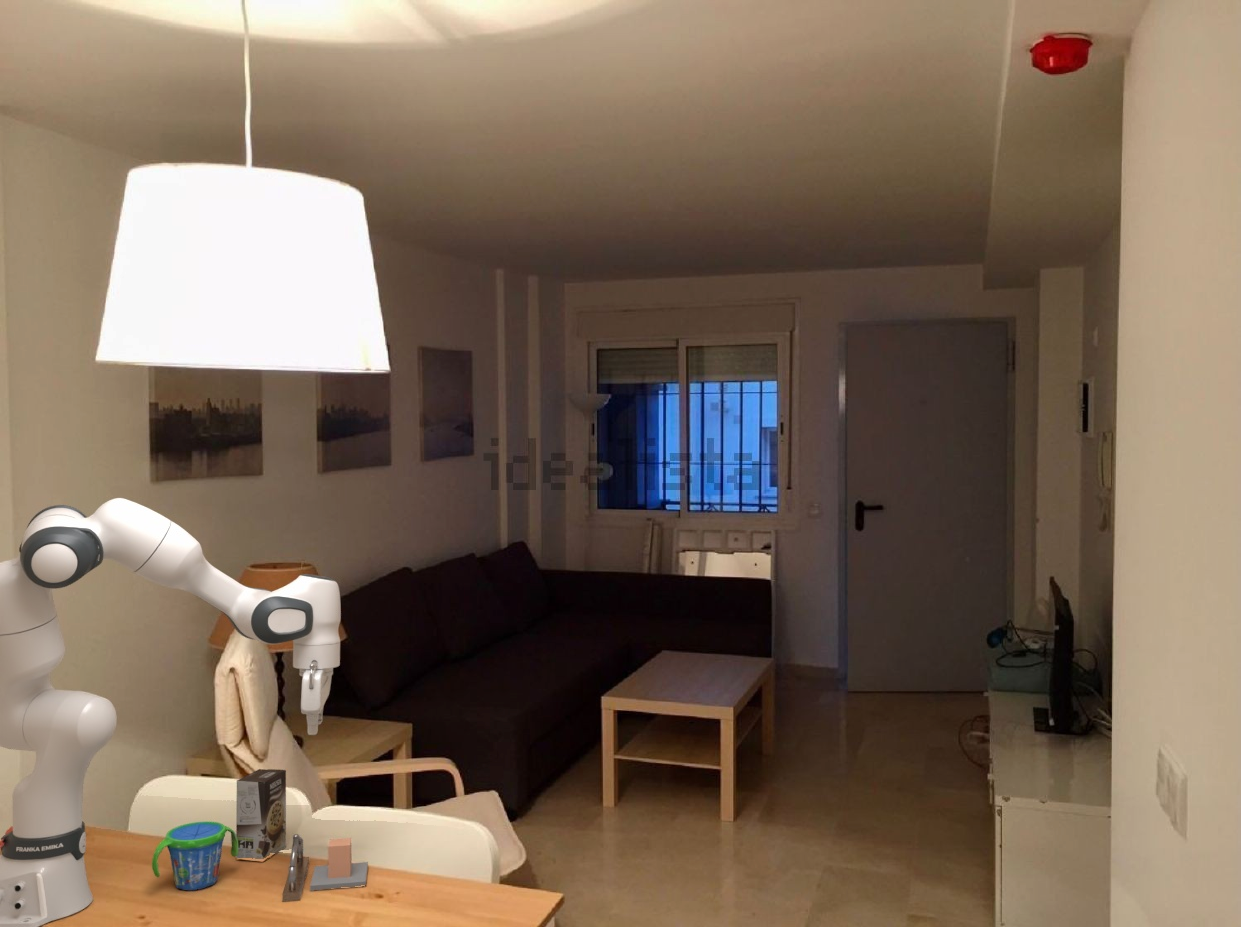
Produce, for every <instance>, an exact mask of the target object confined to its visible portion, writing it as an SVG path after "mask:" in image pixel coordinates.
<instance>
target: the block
mask: <svg viewBox="0 0 1241 927" xmlns="http://www.w3.org/2000/svg"><path fill="white" fill-rule="evenodd" d="M327 850H328V853H327V854H328V857H327V858H328V859H327V861H328V863H327V865H328V878H341V877H350V875H351V869H352V865H351V863H352V837H348V838H347V837H346V838H333V839H329V843H328V847H327Z"/></svg>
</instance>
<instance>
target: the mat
mask: <svg viewBox="0 0 1241 927" xmlns="http://www.w3.org/2000/svg"><path fill="white" fill-rule="evenodd" d="M351 865H352V869H351V875H350V877H341V878H328V864H327V865H326V864H325V865H323V864H322V865H315V866H314V870H313V873H312V876H311V882H310V885H309V887H310V888H309V889H310V890H309V891H310V892H315V891H314V890H319V891H321V890H320V889H331V888H341V887H355V886H361V885H367V879H366V877H367V878H368V870H367V868H369V863H368V861H366V862H365V861H363V862H353V863H352V862H351Z"/></svg>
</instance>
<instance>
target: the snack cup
mask: <svg viewBox="0 0 1241 927" xmlns="http://www.w3.org/2000/svg"><path fill="white" fill-rule="evenodd" d="M227 832H229V833H230V839H231V850H230V854H231V857H234V858H236V856H237V854H238V839H237V836H236V833H235V832H236V831H234V830H233V829H232V828H230V827H229V826H226V825H224V824H223V823H220V822H217V821H195V822H194V821H193V822H189V823H185V824H182V825H178V826H175V827H174V828H172V829H170V830H169V831H168V832H166V835H165V837H164V839H162V840H161V841H160V842H159V843H158V845H157V847H156V848H155V850H154V853H153V855H152V862H151V868H152V871H153V874H154V876H155V877H156V878H160V871H159V870H160V869H159V864H158V859H159V855H160V854H161V853H162V852H163V850H164V849H165V848H166V847H167V850H168V853H169V857H170V861H171V869H172V873H173V875H172V876H173V880H174V884H175V887H176V889H180V890H183V891H185V890H186V891H196V890H197V889H198V890H201V889H205V888H207V887H210V886H213V885H215V883H216V881H218V877H219V873H220V865H221V858H222V852H223V844H224V839H225V837H226V833H227ZM198 890H197V891H198Z"/></svg>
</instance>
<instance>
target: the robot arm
mask: <svg viewBox="0 0 1241 927" xmlns="http://www.w3.org/2000/svg"><path fill="white" fill-rule="evenodd" d="M23 534H24V535H23V537H22V540H21V542H20V543H21V544H20V546H19V550H18V551H19V555H17V556H16V557H14V558H12V559H8V560H3V561H0V747H1V748H3V749H8V750H14V751H28V752H35V757H36V758H35V762H34V766H33V770H32V771H31V773H30V774H28V775H27V776H26V777H24V778H22V779H21V780H20V781H19V782H18V783H17V784H16V785H15V787H14V789H13V791H12V826H10V827H9V828H8V829H7V830H6V831H5V834H4V835H3V836H2V837H1V838H0V852H1V854H0V927H40V926H43V925H45V924H47V923H50V922H52V921H55V920H59V919H63V918H66V917H68V916H71V915H74V914H76V913H78V912H80V911H82V910H83V909H85V908H87V907H88V906H89V905H90V904H91V903H92V902H93V901H94V900H93V899H94V897H93V894H92V891H91V888H90V885H89V882H88V877H87V872H86V871H87V870H86V864H85V853H86V847H87V844H86V843H87V834H86V824H85V821H83V800H84V799H83V795H84V784H85V778H86V774H87V772H88V768H89V766H90V763H91V762H92V760H93V759H94V756H96V754H97V753H98V752H100V750H102V749H103V748H104V747H105V746H106V745H108V743H109V742H110V741H111V739H112V737H113V736H114V733H115V730H116V728H117V724H118V722H117V719H118V718H117V711H116V708H115V705H114V704H113V703H112V701H110V700H109V699H108V698H107V697H106V698H105V697H103V696H101V695H97V694H95V693H92V692H87V691H82V690H70V689H56V688H54V686H53V685H52V681H51V672H52V671H53V670H54V669H56V668H57V667H58V666H59V665H60V663H62V660H63V659H64V657H65V655H66V644H65V641H64V636H63V633H62V629H61V624H60V621H59V617H58V612H57V608H56V605H55V601H54V596H53V589H56V590H57V589H62V588H65V587H66V588H67V587H68V586H71V585H73V584H75V583H76V582H78V581H79V580H81V578H84V576H86V575H87V574H88V573H90V572H91V571H93V570H94V569H96V568H97V567H99V566H100V565H101V564H102V562H103V560H109V561H112V562H115V563H117V564H118V565H120V566H122V567H124V568H125V569H127V570H129V571H131V572H132V573H134V574H136V575H137V576H139V577H141V578H143V579H145V580H147V581H149V582H152V583H154V584H156V585H158V586H159V585H160V586H163V587H165V588H169V589H177V590H182V591H185V592H188V593H190V594H192V595H193V596H196V597H197V598H199V599H200V600H202V601H204V602H205V603H207V604H209V605H211V606H212V607H214V608H216V609H217V610H218V611H220V612H222V613H223V614H224V615H225V616H226V617H227V619H228V620H229V622H230V624H231V625H232V626H233V628H234V630H236V632H237V633H239V635H241V636H242V637H245V638H246V639H248V640H249V639H250V640H255V641H258V642H260V643H264V644H267V645H279V644H283V643H286V642H291V641H293V642H292V643H293V645H292V646H293V647H292V667H293V668H295V669H297V670H298V669H299V676H300V677H302V680H301V692H300V694H301V695H300V696H301V698H300V711H301V714H302V715H306V725H307V734H308V735H309V736H315V735H317V734H318V731H319V725H321V724H322V722H323V713H324V706H325V704H326V701H327V700H328V698H329V695H330V691H331V684H332V676H333V675H334V668H338V667H339V666H340V665H341V662H340V661H341V638H340V634H339V628H340V627H339V626H340V623H341V620H342V618H341V616H342V613H341V612H342V611H341V610H342V609H341V595H340V594H341V592H340V587H339V584H338V583H337V581H336V580H334V579H333V578H331V577H327V576H321V575H318V574H317V575H316V574H311V573H310V574H309V573H304V574H300V575H299V576H298V577H297V578H296V579H294V580H292V581H291V582H289V583H288V584H286V585H285V586H282V587H280V588H278V589H275V590H273V591H271V590H269V589H266V588H260V587H250V586H247V585H244V584H242V583H240V582H238V581H237V580H235V579H234V578H232V577H231V576H229V575H227V574H226V573H224V572H222V571H221V570H219V569H218V568H216V567H215V566H213V565H212V564H211V563H210V562H208V560H207V559H206V557H205V555H204V553H203V549H202V545H201V544H200V542H199V541H198V540H197V539H196V538H195V537H194V536H192V534H190V533H189V532H187V530H185V529H184V528H183V527H181V526H180V525H179V524H177V523H175V522H174V521H172V520H171V519H169V518H168V517H165V516H164V515H163V514H161V513H158V512H157V511H154V510H153V509H151V508H149V507H146V506H145V505H142V504H139V503H138V502H135V501H132V500H129V499H126V498H123V497H117V498H116V497H115V498H112V499H110V500H108V501H106V502H104V503H103V504H101V505H100V506H99V507H98V508H97V509H96V510H95V511H94V513H93V514H91V515H90V516H87V515H86V514H85V513H84V512H82V511H81V510H79V509H77V508H76V507H74V506H70V505H66V504H56V505H50V506H47V507H46V508H44V509H42V510H40V511H38V512H37V513H36V514H35V515H34V516H33V517H32V518H31V520H30V521H29V523H28V524H27V526H26V529H25V532H24V533H23Z"/></svg>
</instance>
